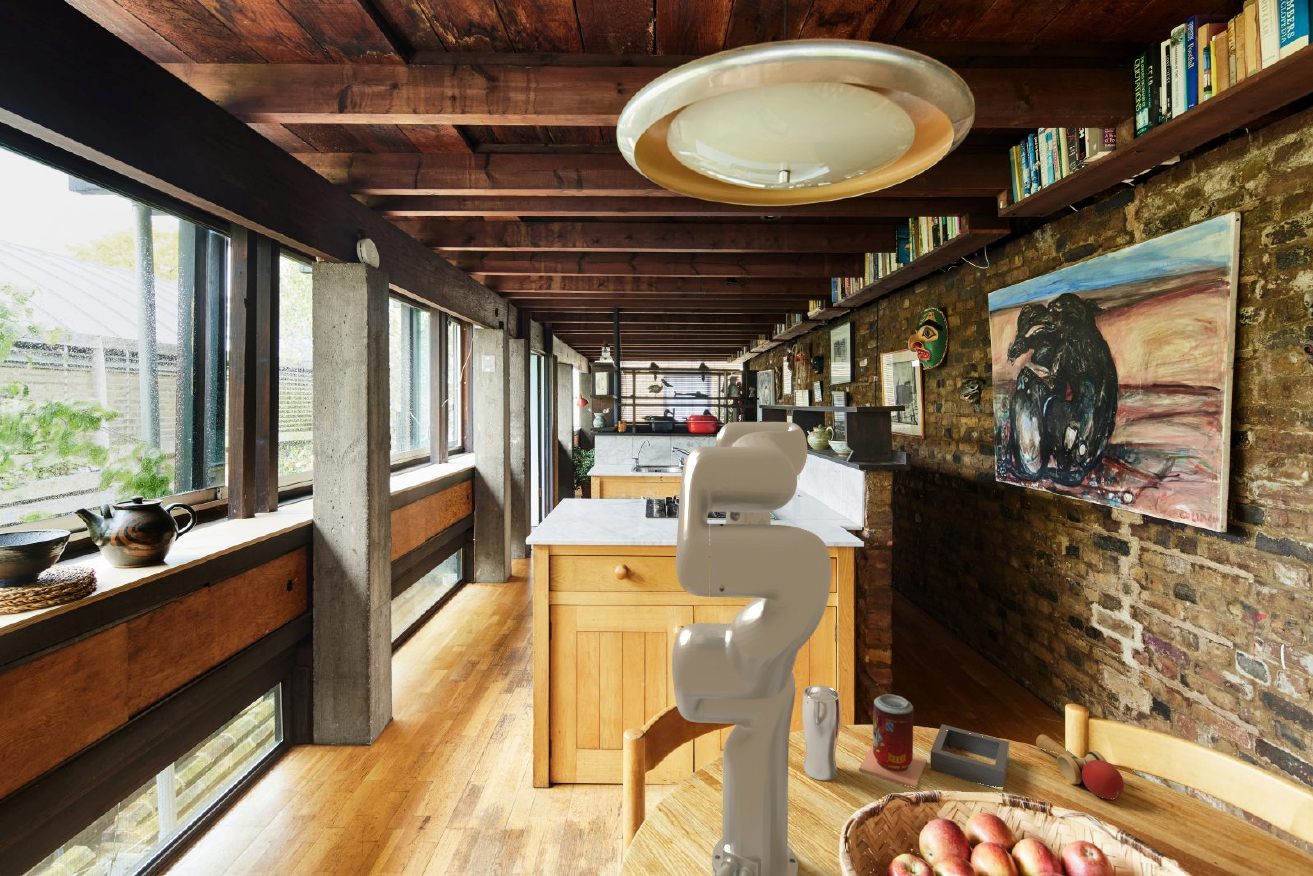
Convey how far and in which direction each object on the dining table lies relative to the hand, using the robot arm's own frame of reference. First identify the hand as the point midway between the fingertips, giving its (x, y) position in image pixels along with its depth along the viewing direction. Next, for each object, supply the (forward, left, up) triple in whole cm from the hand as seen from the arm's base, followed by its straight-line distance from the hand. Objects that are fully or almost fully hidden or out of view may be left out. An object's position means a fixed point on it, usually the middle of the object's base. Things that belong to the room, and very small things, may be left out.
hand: (746, 583), depth 113 cm
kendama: (+34, -51, -36) cm, 71 cm away
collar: (+27, -34, -36) cm, 56 cm away
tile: (+18, -22, -36) cm, 46 cm away
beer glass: (+9, -11, -36) cm, 39 cm away
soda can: (+17, -22, -36) cm, 45 cm away
